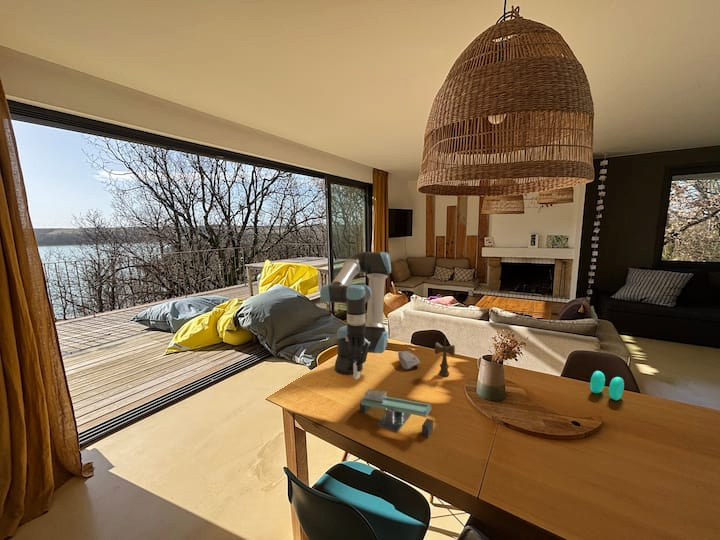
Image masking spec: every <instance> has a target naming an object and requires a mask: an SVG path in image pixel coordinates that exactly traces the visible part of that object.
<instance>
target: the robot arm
mask: <svg viewBox="0 0 720 540" xmlns="http://www.w3.org/2000/svg"><path fill="white" fill-rule="evenodd" d="M360 273H363V274H366V277H367V278H368V285H366V284H352V285H350V284H351V283H352V282H353V280H354V278H355V276H357V275H358V274H360ZM391 273H392V264H391V258H390V254H389V253H388V252H385V251H359V252H357V253H354V254H353V255H351V256H349V257H348V258H347V259H346V260H345V261H344V262H343V264H342V268H341V270H339V272H338V273H337V275H336V277H334V279H333V280H332V282H330V284H324V285H322V286H321V288H320V291H319V295H320V296H319V297H320V299H321V301H322V302H324V303H344V304H346V322H347V324H346V325H344V326H341V327H339V328H338V330H337V332H336V333H337V334H336V339H337V340H336V345H337V357H336V360H335V363H334V371H335V372H336V373H337V374H340V375H345V376H352V375H353V379H354V380H358V379H359V378H360V377H361V372H362V371H363V369H364V368H363V364H364V363H366V361H367V357H368V353H370V354H383V353H384V352H385V350H386V348H387V345H388V339H389V338H388V337H389V332H388V330H386V327H385V326H384V323H383V322H384V303H385V286H386V285H385V283H386V282H385V281H386V279H387V278H388V277H389V274H391ZM366 303H367V305H366ZM366 306H367V308H366ZM366 309H367V310H366Z"/></svg>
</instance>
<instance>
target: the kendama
mask: <svg viewBox="0 0 720 540" xmlns="http://www.w3.org/2000/svg"><path fill="white" fill-rule="evenodd" d="M443 341H444V342H443V345H442V344H441V343H439V342H438V341H437V342H435V343H434V345H435V346H434V354H435V355H438V354H440V353H443V355H442V359H441V363H440V364H439V367H440V370H439V371H438V374H439V376H443V377H448V376H449V375H450V372H449V368H450V365H449V364H448V360H447V359H448V358H447V354H449V355H450V356H451V357H454V356H455V353H456V346H455V344H452V345H449V346H447V338H446V337H444V340H443Z"/></svg>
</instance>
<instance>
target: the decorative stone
mask: <svg viewBox="0 0 720 540" xmlns="http://www.w3.org/2000/svg"><path fill="white" fill-rule="evenodd" d="M397 355H398V359H399V363H400V365H401V367H402V368H403V370H411V369H413V368H414V367H416V366H417V365H420V364H421V361H420V360H419V358H418V357H417V356H416V355H415V354H414V353H412V352H411V351H407V350H404V351H398V352H397Z"/></svg>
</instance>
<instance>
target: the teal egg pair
mask: <svg viewBox="0 0 720 540" xmlns="http://www.w3.org/2000/svg"><path fill="white" fill-rule="evenodd" d="M605 383H606V376H605V374H604V373H603V372H602V371H600V370H595V371H594V372H593V374H592V375H591V378H590V386H589V387H590V390H591V392H592V393H594V394H600V393H601V392H602V391H603V390H604V387H605ZM624 389H625V381H624V379H623V377H620V376H615V377H613V378H612V379H611V381H610V383H609V387H608V394H609V397H610V398H611V399H612V400H614V401H620V399H621V398H622V396H623V393H624Z"/></svg>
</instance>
